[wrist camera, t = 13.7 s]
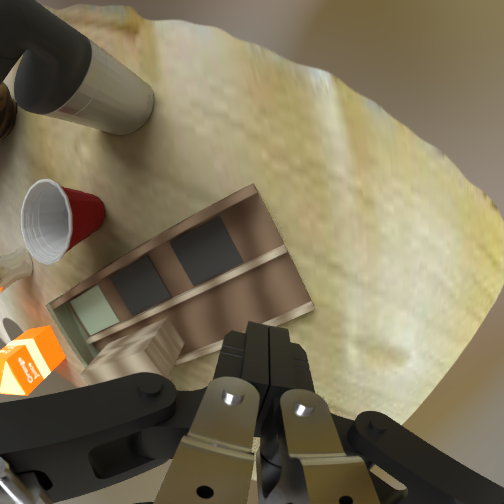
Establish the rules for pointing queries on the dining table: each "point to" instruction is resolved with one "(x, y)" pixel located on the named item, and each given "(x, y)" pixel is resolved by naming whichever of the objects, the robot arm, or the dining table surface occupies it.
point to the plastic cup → (58, 219)
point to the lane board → (199, 285)
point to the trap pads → (191, 258)
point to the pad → (94, 310)
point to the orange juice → (28, 360)
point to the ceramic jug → (6, 111)
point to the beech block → (137, 354)
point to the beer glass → (14, 268)
